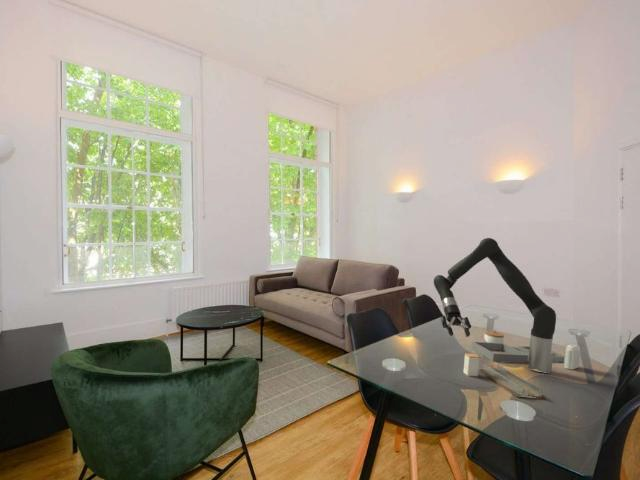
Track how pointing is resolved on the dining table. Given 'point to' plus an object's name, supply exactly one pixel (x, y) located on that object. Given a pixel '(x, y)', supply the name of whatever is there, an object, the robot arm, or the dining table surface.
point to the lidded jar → (493, 337)
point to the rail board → (511, 381)
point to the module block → (471, 364)
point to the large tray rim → (510, 357)
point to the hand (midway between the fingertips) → (460, 335)
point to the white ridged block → (572, 357)
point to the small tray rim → (556, 356)
